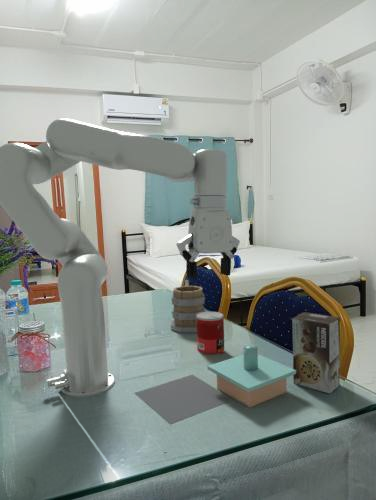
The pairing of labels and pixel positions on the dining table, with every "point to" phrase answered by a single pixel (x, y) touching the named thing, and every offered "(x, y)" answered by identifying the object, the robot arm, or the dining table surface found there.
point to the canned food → (210, 332)
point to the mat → (182, 398)
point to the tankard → (186, 307)
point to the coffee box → (316, 351)
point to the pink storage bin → (255, 395)
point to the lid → (251, 369)
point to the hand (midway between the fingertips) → (209, 276)
